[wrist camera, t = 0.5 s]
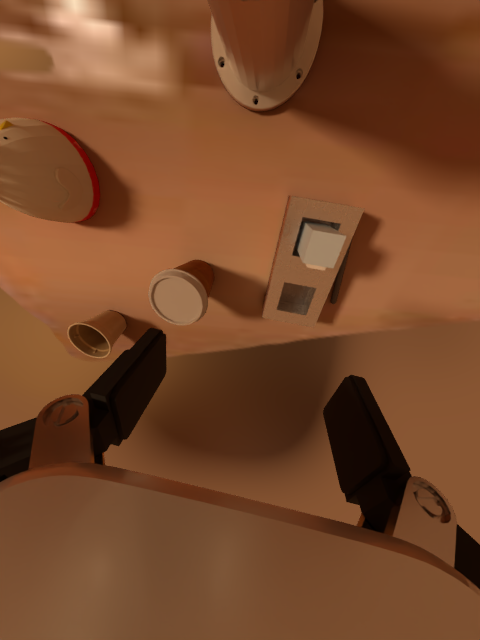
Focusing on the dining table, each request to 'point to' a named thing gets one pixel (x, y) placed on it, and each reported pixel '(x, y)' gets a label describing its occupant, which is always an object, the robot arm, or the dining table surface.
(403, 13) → the dining table surface
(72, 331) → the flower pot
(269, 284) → the panel
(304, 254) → the plug
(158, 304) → the disposable coffee cup
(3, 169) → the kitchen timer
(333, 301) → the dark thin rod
